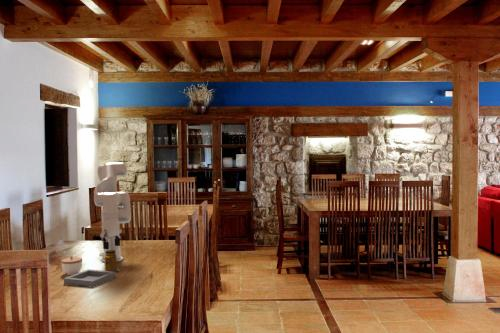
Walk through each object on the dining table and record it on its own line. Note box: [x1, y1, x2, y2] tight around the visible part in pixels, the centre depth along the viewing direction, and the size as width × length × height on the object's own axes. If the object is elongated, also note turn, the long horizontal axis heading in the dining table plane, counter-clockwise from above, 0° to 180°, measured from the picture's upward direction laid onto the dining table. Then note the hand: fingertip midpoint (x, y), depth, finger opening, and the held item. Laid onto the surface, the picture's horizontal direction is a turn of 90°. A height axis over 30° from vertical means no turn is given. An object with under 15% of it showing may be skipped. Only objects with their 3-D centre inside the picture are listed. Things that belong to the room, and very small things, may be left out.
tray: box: [63, 268, 117, 288], centre depth 243 cm, size 18×18×3 cm
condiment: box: [104, 250, 122, 274], centre depth 260 cm, size 7×8×12 cm
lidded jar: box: [60, 256, 83, 276], centre depth 259 cm, size 11×11×9 cm
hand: (111, 247), depth 259 cm, fingers open, 9 cm apart
